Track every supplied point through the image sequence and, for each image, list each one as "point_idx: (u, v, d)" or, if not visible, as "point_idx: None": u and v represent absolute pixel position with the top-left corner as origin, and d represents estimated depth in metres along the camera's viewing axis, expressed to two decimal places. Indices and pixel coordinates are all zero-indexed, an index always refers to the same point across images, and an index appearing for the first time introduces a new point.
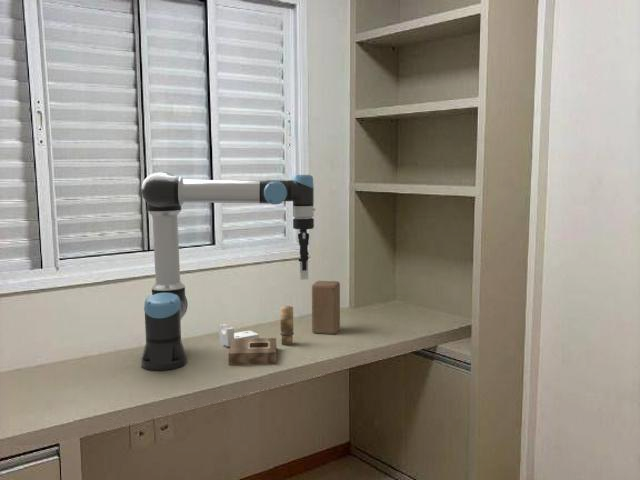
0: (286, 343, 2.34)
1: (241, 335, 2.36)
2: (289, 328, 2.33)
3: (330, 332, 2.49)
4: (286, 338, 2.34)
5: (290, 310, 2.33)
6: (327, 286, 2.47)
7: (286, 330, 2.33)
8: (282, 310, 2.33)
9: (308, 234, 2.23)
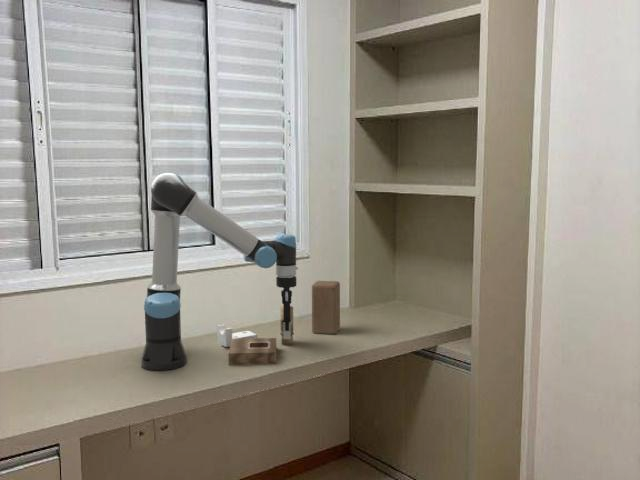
0: (286, 343, 2.34)
1: (239, 335, 2.36)
2: None
3: (330, 332, 2.49)
4: None
5: (290, 310, 2.33)
6: (327, 286, 2.47)
7: None
8: (282, 310, 2.33)
9: (291, 292, 2.32)
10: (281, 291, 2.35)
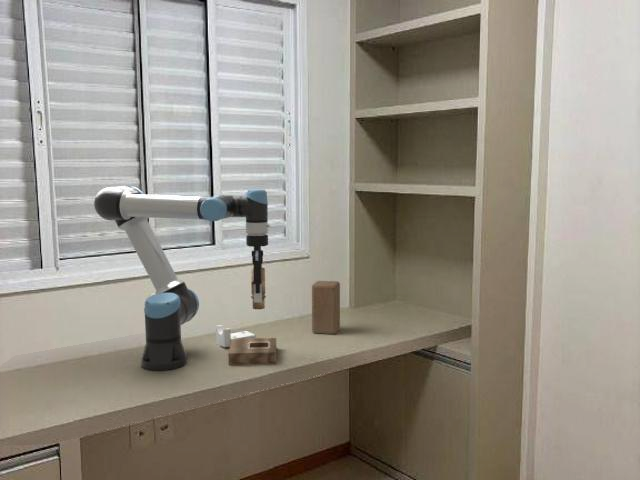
0: (257, 307, 2.17)
1: (238, 336, 2.35)
2: None
3: (330, 332, 2.49)
4: (258, 302, 2.16)
5: (261, 271, 2.15)
6: (327, 286, 2.47)
7: None
8: (253, 271, 2.15)
9: (262, 252, 2.15)
10: (252, 251, 2.17)
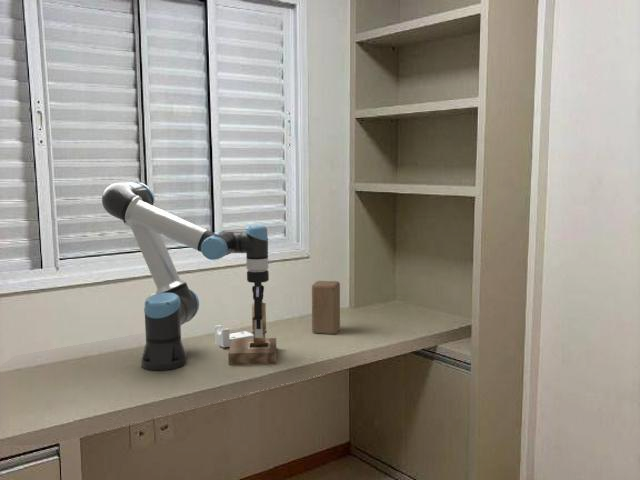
0: (258, 342, 2.18)
1: (237, 336, 2.35)
2: None
3: (330, 332, 2.49)
4: None
5: (262, 307, 2.17)
6: (327, 286, 2.47)
7: None
8: (253, 307, 2.17)
9: (262, 288, 2.16)
10: None
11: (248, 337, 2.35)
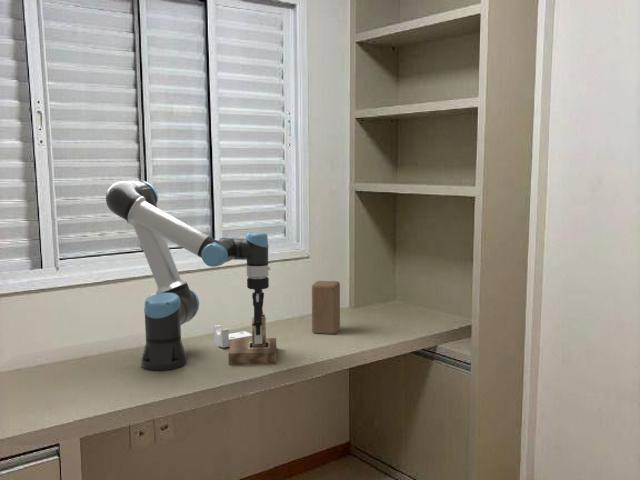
0: None
1: (236, 336, 2.35)
2: None
3: (330, 332, 2.49)
4: None
5: (262, 321, 2.17)
6: (327, 286, 2.47)
7: None
8: (253, 321, 2.17)
9: (262, 294, 2.16)
10: None
11: (247, 337, 2.35)
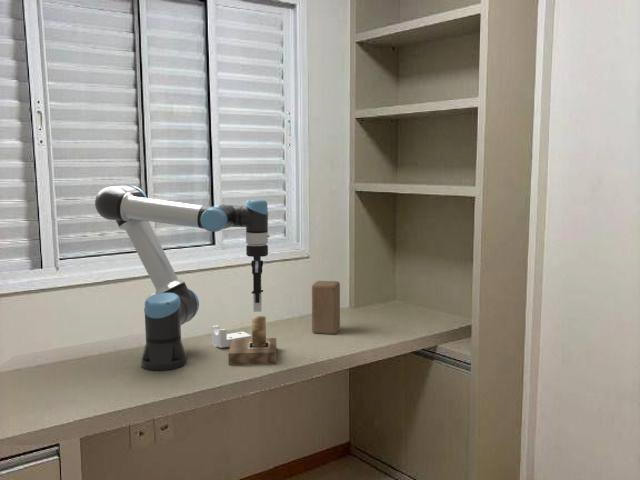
0: None
1: (234, 336, 2.35)
2: (261, 339, 2.18)
3: (330, 332, 2.49)
4: None
5: (262, 320, 2.17)
6: (327, 286, 2.47)
7: (258, 342, 2.18)
8: (253, 320, 2.17)
9: (262, 263, 2.15)
10: None
11: (245, 337, 2.35)
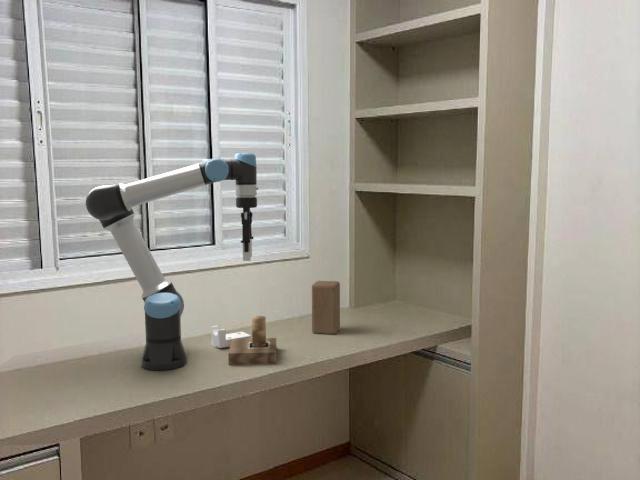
0: None
1: (233, 336, 2.34)
2: (261, 339, 2.18)
3: (330, 332, 2.49)
4: None
5: (262, 320, 2.17)
6: (327, 286, 2.47)
7: (258, 342, 2.18)
8: (253, 320, 2.17)
9: (251, 213, 2.23)
10: None
11: (244, 338, 2.34)
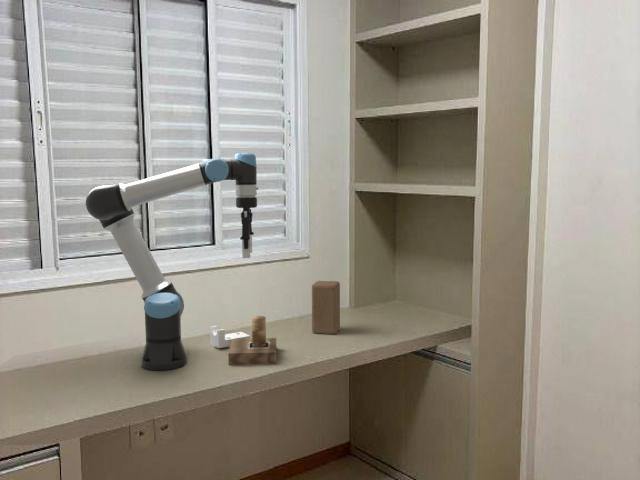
0: None
1: (232, 336, 2.34)
2: (261, 339, 2.18)
3: (330, 332, 2.49)
4: None
5: (262, 320, 2.17)
6: (327, 286, 2.47)
7: (258, 342, 2.18)
8: (253, 320, 2.17)
9: (251, 213, 2.23)
10: None
11: (244, 338, 2.34)
